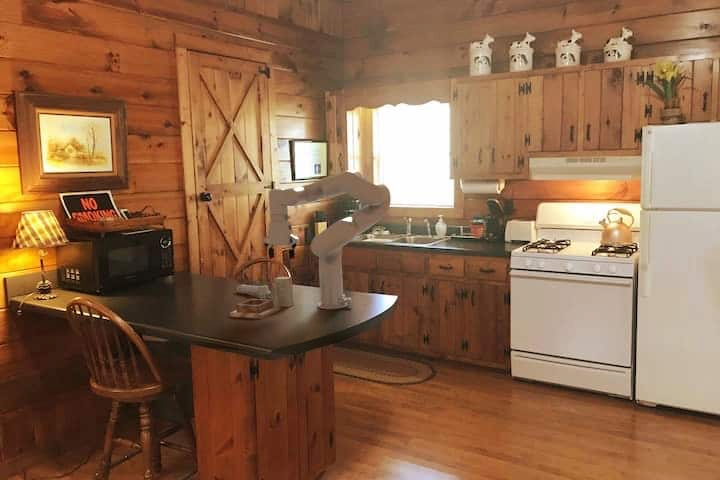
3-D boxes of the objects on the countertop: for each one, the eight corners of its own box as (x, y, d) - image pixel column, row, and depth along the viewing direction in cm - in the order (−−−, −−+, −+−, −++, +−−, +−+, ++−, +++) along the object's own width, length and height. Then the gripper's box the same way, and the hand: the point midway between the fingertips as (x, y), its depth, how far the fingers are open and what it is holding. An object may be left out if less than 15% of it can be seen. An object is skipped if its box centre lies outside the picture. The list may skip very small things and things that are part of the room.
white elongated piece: (243, 283, 292) (271, 282, 273) (245, 297, 292) (273, 297, 273) (233, 285, 288) (261, 284, 270) (235, 299, 288) (264, 299, 270)
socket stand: (280, 309, 251) (279, 298, 251) (261, 318, 238) (261, 307, 237) (249, 307, 257) (249, 297, 257) (229, 316, 243) (228, 305, 243)
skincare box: (294, 304, 259) (292, 276, 257) (288, 307, 255) (286, 278, 253) (281, 304, 261) (279, 276, 260) (275, 306, 257) (274, 278, 256)
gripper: (301, 217, 253) (304, 257, 256) (266, 217, 260) (268, 256, 262) (293, 219, 247) (295, 260, 249) (256, 219, 253) (259, 259, 255)
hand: (281, 258), depth 255 cm, fingers open, 9 cm apart
